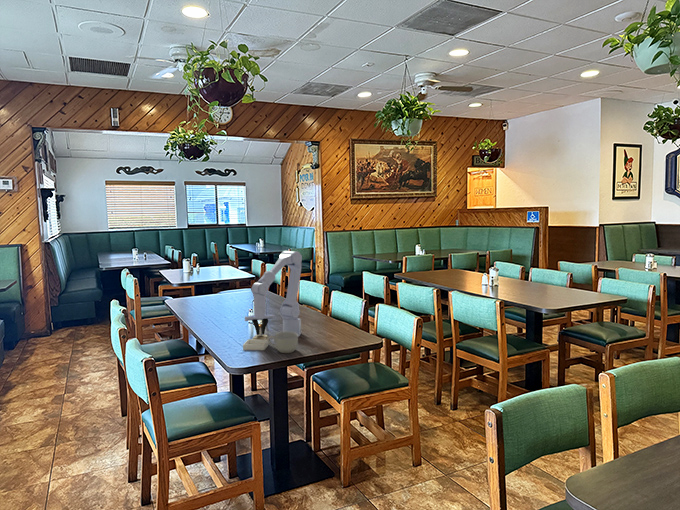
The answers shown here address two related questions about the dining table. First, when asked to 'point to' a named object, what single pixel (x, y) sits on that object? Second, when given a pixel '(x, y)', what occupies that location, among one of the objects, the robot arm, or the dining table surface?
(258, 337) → the beige square frame
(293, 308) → the robot arm
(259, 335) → the pin
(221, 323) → the dining table surface
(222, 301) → the dining table surface
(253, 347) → the tray
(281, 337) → the teacup
